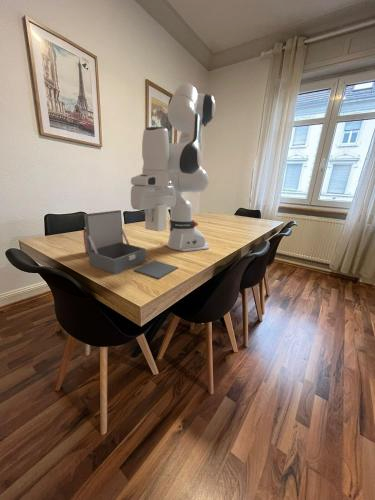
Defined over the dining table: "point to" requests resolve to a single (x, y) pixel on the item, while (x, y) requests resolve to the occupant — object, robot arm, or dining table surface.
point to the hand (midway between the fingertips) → (155, 220)
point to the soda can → (85, 240)
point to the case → (110, 243)
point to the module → (157, 218)
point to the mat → (156, 269)
